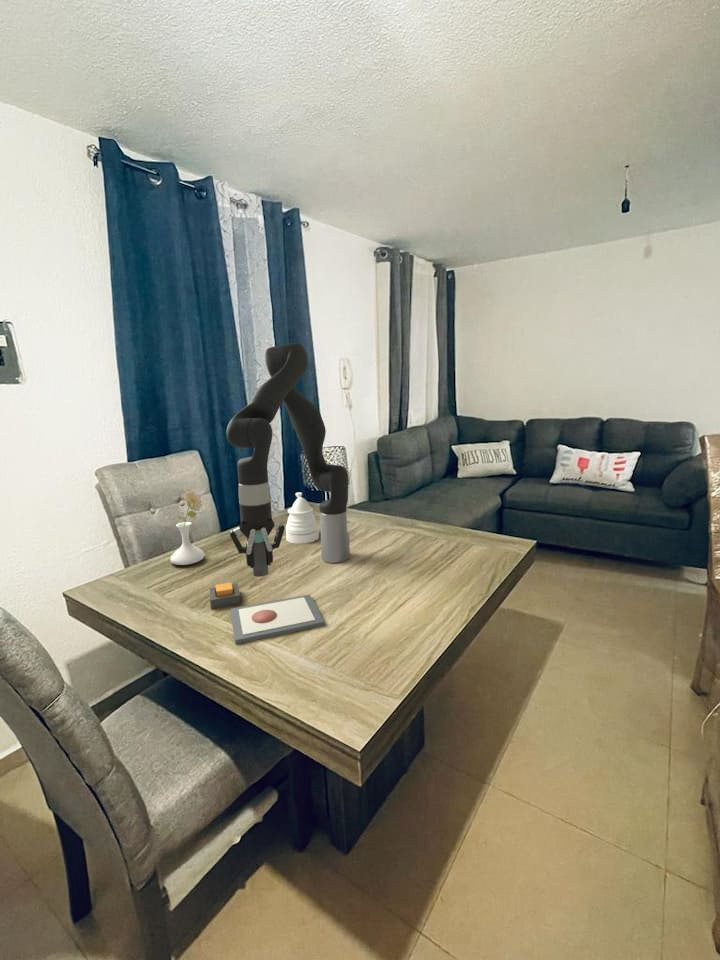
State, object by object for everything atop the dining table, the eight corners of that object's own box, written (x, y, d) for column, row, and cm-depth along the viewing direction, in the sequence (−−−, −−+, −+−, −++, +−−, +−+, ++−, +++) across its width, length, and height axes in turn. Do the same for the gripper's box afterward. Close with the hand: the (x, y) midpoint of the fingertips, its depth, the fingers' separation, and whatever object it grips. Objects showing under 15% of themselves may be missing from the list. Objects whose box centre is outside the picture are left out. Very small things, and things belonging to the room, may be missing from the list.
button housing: (238, 591, 132) (237, 583, 132) (240, 603, 125) (240, 595, 124) (210, 596, 130) (209, 588, 129) (211, 608, 122) (210, 600, 122)
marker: (267, 569, 115) (264, 525, 112) (269, 575, 111) (266, 529, 109) (251, 571, 114) (248, 527, 111) (253, 577, 110) (250, 532, 107)
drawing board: (309, 597, 127) (309, 592, 127) (324, 625, 113) (324, 620, 112) (230, 612, 120) (230, 607, 120) (235, 644, 105) (234, 638, 105)
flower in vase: (184, 570, 148) (176, 498, 142) (163, 564, 154) (154, 494, 148) (215, 557, 159) (208, 489, 153) (195, 551, 165) (187, 486, 159)
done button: (232, 588, 130) (231, 582, 129) (233, 595, 125) (232, 588, 125) (216, 591, 128) (215, 585, 128) (216, 598, 124) (216, 591, 124)
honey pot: (282, 535, 179) (279, 492, 175) (312, 530, 185) (310, 488, 181) (291, 545, 168) (288, 500, 164) (323, 540, 173) (321, 495, 169)
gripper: (281, 493, 114) (285, 556, 118) (224, 499, 109) (230, 564, 113) (286, 500, 107) (290, 566, 111) (225, 507, 103) (232, 576, 106)
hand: (260, 565), depth 112 cm, fingers closed on marker, 3 cm apart
